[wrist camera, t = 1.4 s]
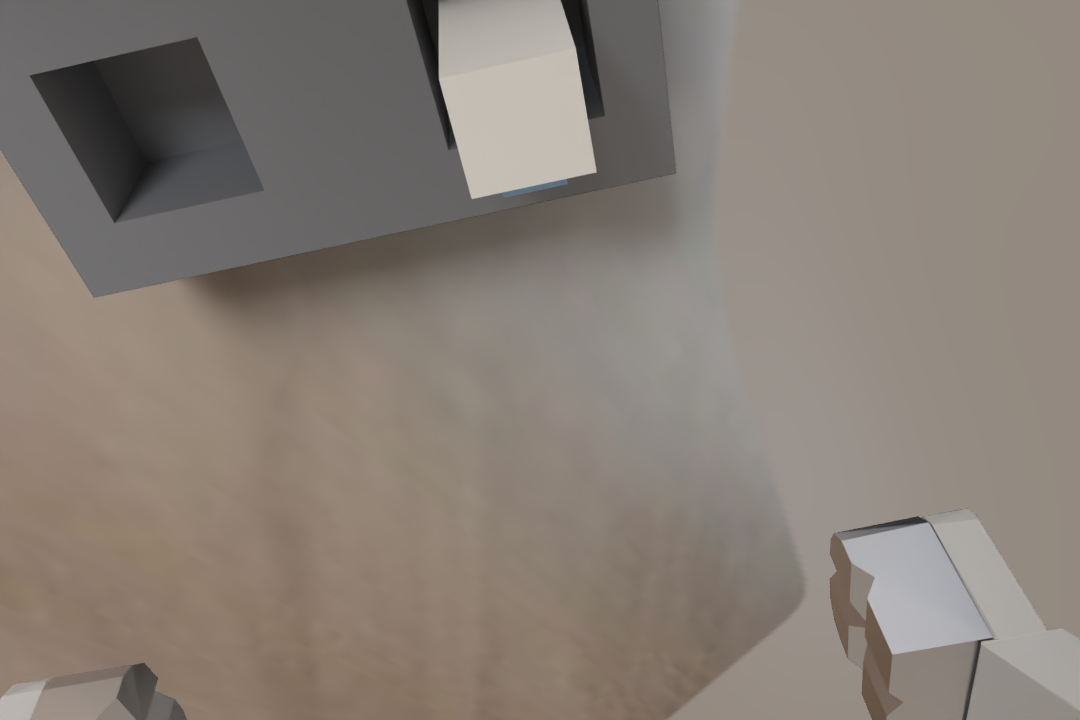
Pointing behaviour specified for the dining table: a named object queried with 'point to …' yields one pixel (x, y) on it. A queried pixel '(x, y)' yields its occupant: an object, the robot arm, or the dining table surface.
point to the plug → (513, 94)
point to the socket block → (276, 125)
